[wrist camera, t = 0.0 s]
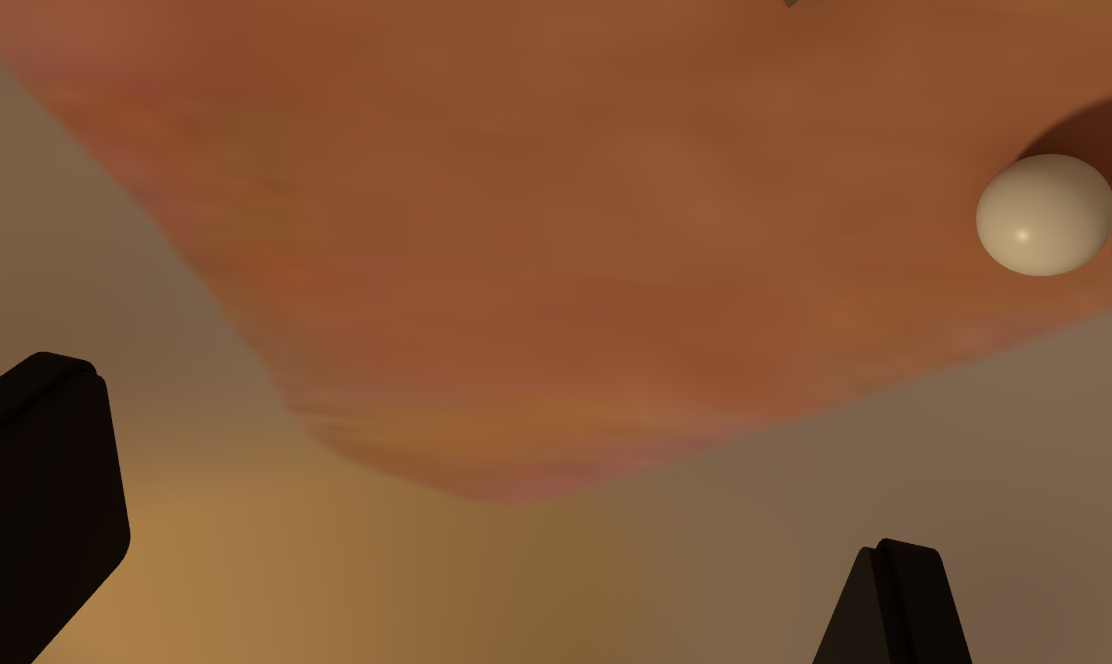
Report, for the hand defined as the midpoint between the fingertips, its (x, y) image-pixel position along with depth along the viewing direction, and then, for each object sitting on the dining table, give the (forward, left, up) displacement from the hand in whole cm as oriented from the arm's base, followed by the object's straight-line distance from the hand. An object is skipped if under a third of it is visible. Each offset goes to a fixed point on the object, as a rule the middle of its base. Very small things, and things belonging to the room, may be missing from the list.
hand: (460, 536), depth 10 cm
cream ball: (-8, +15, -31) cm, 36 cm away
